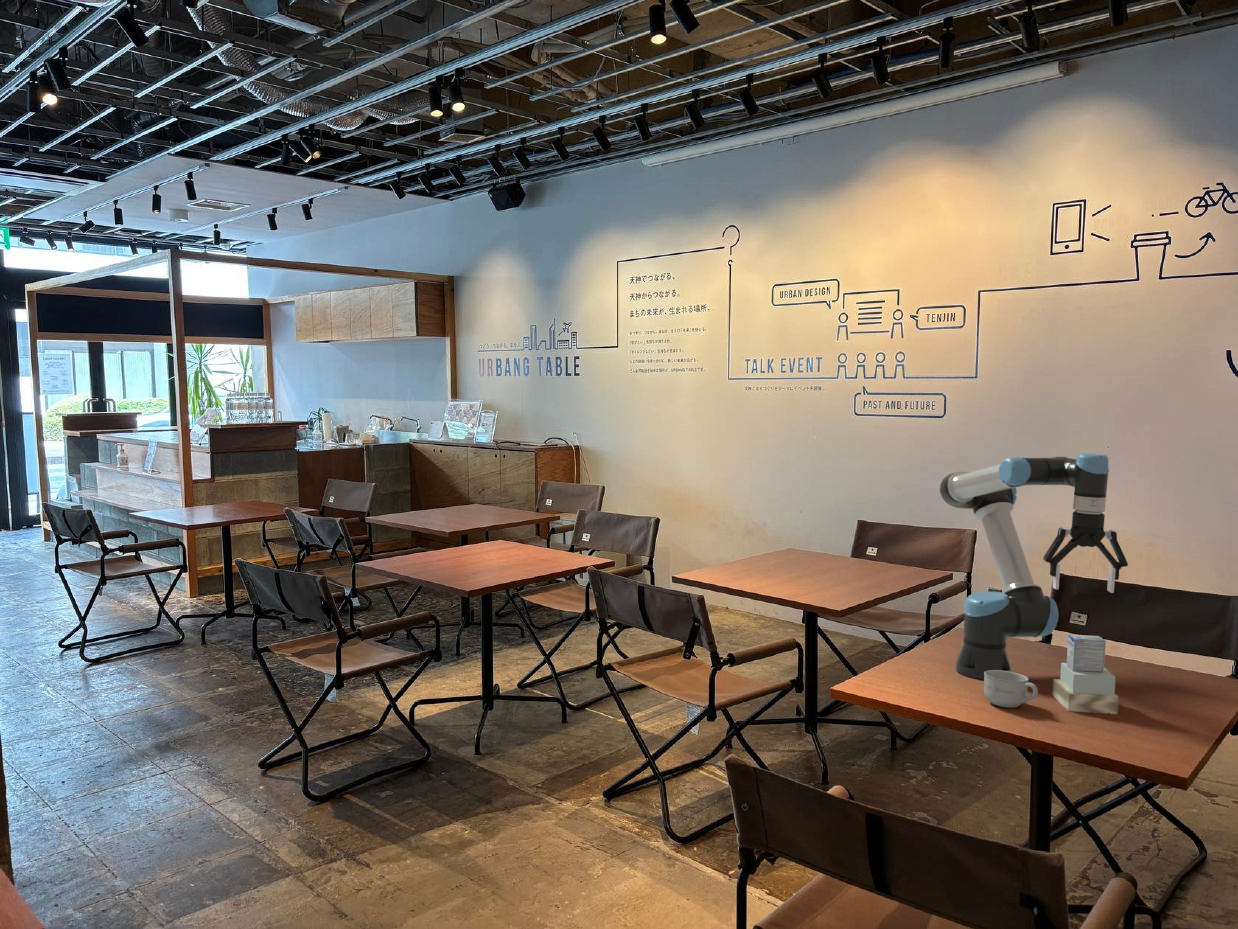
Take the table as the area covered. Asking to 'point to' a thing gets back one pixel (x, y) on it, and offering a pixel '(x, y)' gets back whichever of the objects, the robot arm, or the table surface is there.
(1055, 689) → the birch base block
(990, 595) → the robot arm
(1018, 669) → the table surface
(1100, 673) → the grey-green top block
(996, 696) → the teacup
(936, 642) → the table surface
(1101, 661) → the medicine box
